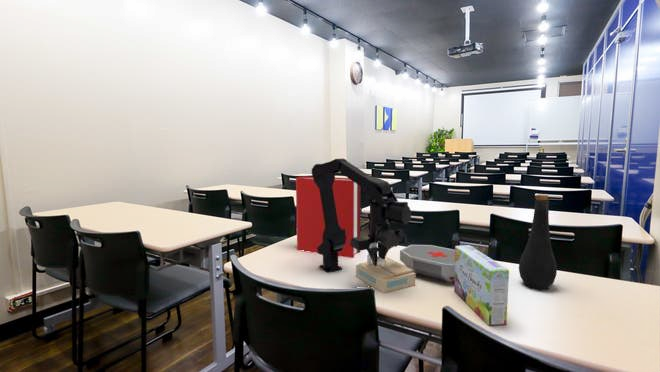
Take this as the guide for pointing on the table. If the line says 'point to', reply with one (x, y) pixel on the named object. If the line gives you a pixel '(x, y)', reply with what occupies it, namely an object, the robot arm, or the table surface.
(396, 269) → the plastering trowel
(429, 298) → the table surface
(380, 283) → the carton
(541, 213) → the bottle
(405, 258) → the first aid kit
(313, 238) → the book
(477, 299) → the snack box
